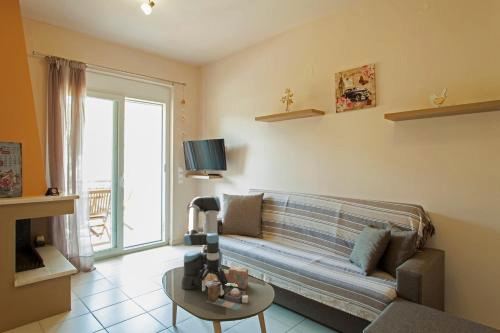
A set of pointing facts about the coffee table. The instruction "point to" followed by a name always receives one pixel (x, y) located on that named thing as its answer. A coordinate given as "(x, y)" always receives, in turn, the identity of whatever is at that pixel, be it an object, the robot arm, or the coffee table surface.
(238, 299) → the dome housing
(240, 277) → the stack of blocks
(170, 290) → the coffee table surface
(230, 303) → the track mat
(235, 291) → the dome
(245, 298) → the ivory die
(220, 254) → the robot arm
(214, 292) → the walnut block
